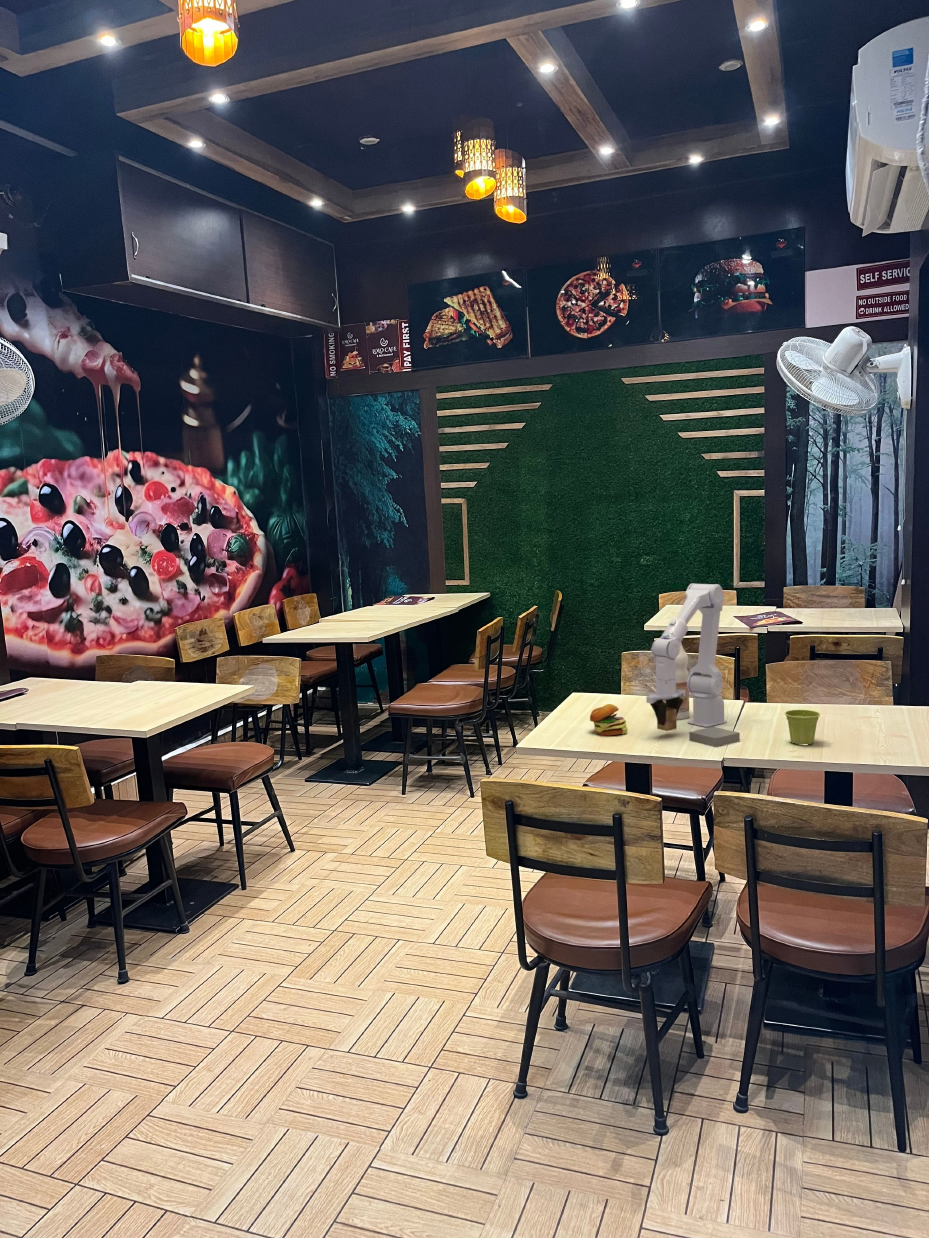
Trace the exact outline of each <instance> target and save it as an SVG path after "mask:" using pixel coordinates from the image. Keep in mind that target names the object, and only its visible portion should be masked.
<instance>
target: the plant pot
mask: <svg viewBox="0 0 929 1238" xmlns="http://www.w3.org/2000/svg"><path fill="white" fill-rule="evenodd" d="M784 715H785V716H786V720H787V723H788V725H787V726H788V731H789V738H790V739H789V740H790V743H791V742H792V743H791V744H793V743H795V745H797V744H810V745H812V744H811V743H813V742H815V737H816V730H817V724H818V720H819V719H820V717H821V713H820V712H818V711H816V710H809V709H790V710H786V711H785V712H784ZM813 744H814V743H813Z"/></svg>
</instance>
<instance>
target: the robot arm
mask: <svg viewBox="0 0 929 1238" xmlns="http://www.w3.org/2000/svg"><path fill="white" fill-rule="evenodd" d="M684 593H685V595H684V596H685V601H684V603H683V605H682V607H681V609H680V611H679V612H678V615H677V618H674V619H672V620H671V621H669V623H668V625H667V626H666V628H665V629H664V631H663V632H662V634H661V636H660V638H657V639H655V640H654V641H653V642H652V646H651V647H650V651H651V655H652V656H653V662H654V664H655V680H656V681H655V687H656V689H655V690H656V692H654V693H651V694H649V695H647V696H645V697H646V703H647V704H649V705H650V707H651V708H652V710H653V711H654V714H655V717H656V722H657V721H658V724H659V725H665V714H666V709H667V707H668V708H673V709H676V718H677V714H678V711H679V708H680V706H681V704H682V703H683V699H681V698H679V697H681V696H682V697H685V696H686V690H682V689H679V690H676V663H675V658H676V657H677V656H678V655H679V651H680V646H681V643H682V641H683V639H684V637H685V636H686V634H687V632H688V630H689V627H688V624H689V622H690V620H691V619H692V618H693V617H694V615H695V614H696V613H697V611H699V612H700V613H701V615H702V616H701V617H702V618H701V626H700V627H701V628H700V635H699V645H698V646H699V648H698V656H697V663H696V665H694V666H693V667H691V668H690V670H689V678H688V680H687V688H688V690H689V693H690V695H691V696H692V703H693V705H692V706H693V708H692V710H693V711H692V713H693V715H692V718H693V719H692V720H689V721H687V724H689V725H696V726H699V727H704V728H710V727H715V726H717V725H723V724H726V723H727V721H726V720H725V702H724V699H723V697H722V695H720V694H721V693H722V691H723V687H724V682H723V673H722V671H721V670H720V669H719V668H718V667H717V666H716V657H717V656H716V655H717V649H718V648H717V646H718V638H719V628H720V618H721V617H720V616H721V612H722V611H723V606H724V605H723V604H724V595H725V592H724V590H723V588H722V586H721V585H720V584H719V583H718V584H717V583H715V584H709V583H694V582H693V583H690V584H689V585H688V586H687V588H686V591H685V592H684ZM680 642H681V643H680ZM707 674H708V675H707ZM663 700H665V701H666V703H664V702H663Z"/></svg>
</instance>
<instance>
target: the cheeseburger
mask: <svg viewBox="0 0 929 1238" xmlns="http://www.w3.org/2000/svg"><path fill="white" fill-rule="evenodd" d="M618 711H619V708H618V706H616V705H614V704H611V703H607V704H605V705H603V706H601V707H597V708H594V709H593V710H592V711H591V713H590V715H589V721H590V722H592V723H593V725H594V728H593V729H594V730H595V732H596V733H597V734H598V735H600V736H604V737H605V736H606V737H607V736H615V735H626V734H627V733H628V727H627V720H626V718H625V717H623V716H617V715H618V713H616V712H618Z"/></svg>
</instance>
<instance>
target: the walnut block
mask: <svg viewBox="0 0 929 1238" xmlns="http://www.w3.org/2000/svg"><path fill="white" fill-rule="evenodd" d="M677 721H678V720H677V719H676V709H673V708H668V707H667V709H666V714H665V725H659V724H658V721H657V720H656V725H657V727H656V729H657V730H661V731H666V732H669V731H674V730H677V729H678V726H677V725H678V724H677Z"/></svg>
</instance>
